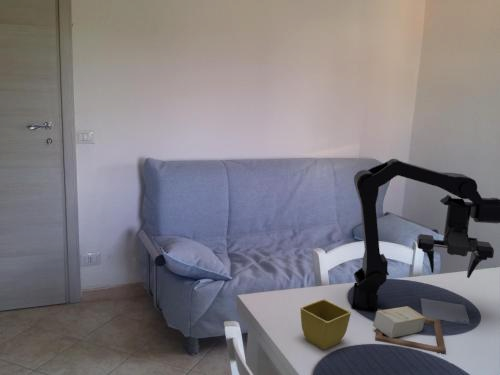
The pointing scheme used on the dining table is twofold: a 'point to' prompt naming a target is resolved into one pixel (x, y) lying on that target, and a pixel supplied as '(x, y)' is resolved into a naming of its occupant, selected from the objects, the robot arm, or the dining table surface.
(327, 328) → the flower pot
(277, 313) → the dining table surface
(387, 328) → the skincare box
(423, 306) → the grey square plate
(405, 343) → the walnut holder frame
